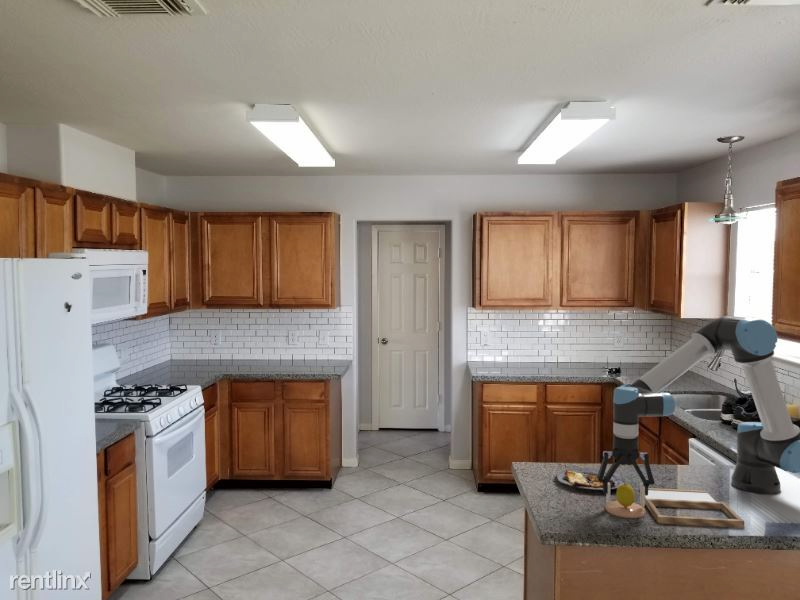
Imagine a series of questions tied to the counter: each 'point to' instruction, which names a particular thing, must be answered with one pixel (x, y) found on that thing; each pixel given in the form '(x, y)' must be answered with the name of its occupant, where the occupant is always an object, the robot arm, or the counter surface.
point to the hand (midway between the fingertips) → (625, 504)
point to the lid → (679, 494)
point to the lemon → (625, 495)
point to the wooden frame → (732, 522)
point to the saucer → (625, 510)
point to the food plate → (577, 480)
